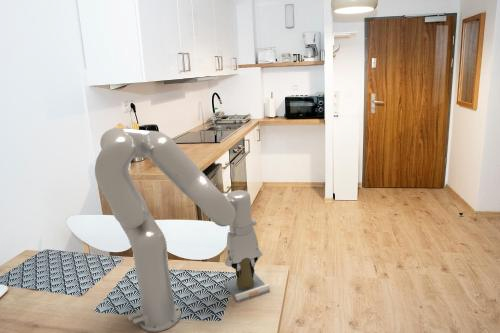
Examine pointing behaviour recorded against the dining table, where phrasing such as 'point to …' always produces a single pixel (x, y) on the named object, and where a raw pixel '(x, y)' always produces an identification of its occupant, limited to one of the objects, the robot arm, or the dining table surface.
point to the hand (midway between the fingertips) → (245, 276)
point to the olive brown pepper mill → (245, 274)
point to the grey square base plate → (246, 289)
